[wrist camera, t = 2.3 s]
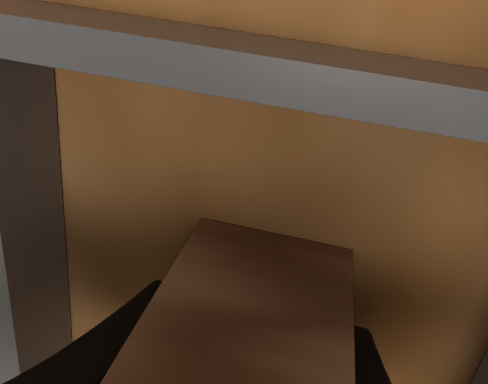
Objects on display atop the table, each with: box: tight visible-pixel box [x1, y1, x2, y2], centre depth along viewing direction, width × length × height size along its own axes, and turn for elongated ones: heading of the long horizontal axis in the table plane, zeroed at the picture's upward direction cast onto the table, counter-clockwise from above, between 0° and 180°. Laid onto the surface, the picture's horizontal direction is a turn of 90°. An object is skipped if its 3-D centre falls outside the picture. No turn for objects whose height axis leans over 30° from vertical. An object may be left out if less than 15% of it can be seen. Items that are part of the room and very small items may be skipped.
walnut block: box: [100, 218, 355, 384], centre depth 10 cm, size 4×4×6 cm
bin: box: [0, 0, 488, 384], centre depth 12 cm, size 14×14×2 cm
